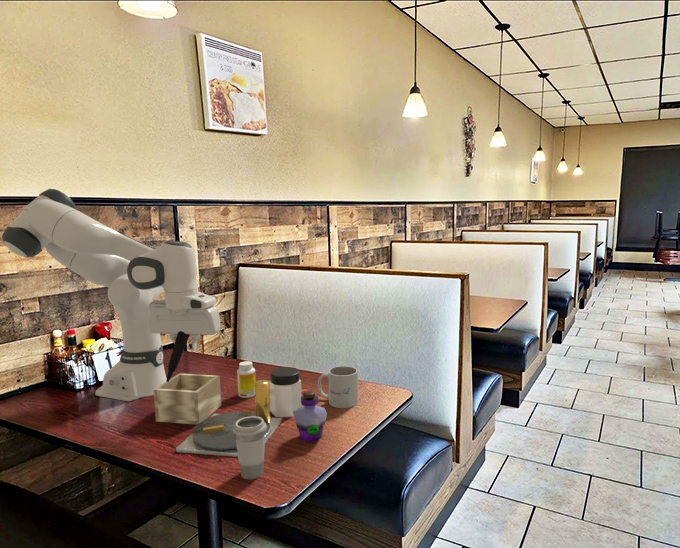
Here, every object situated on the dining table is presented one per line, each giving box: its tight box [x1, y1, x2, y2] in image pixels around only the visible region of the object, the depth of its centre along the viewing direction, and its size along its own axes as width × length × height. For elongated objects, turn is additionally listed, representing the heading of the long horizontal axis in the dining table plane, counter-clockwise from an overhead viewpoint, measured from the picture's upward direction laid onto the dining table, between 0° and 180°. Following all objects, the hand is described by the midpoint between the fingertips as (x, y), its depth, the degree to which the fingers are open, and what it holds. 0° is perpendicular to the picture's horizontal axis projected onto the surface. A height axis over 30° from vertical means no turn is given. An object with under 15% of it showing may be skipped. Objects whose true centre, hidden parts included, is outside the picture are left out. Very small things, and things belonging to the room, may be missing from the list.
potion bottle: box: [293, 390, 328, 443], centre depth 119 cm, size 9×9×12 cm
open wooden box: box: [153, 373, 222, 426], centre depth 136 cm, size 13×13×9 cm
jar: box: [268, 366, 303, 418], centre depth 135 cm, size 9×8×12 cm
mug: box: [317, 365, 359, 409], centre depth 141 cm, size 12×9×10 cm
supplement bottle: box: [236, 360, 257, 399], centre depth 148 cm, size 6×6×10 cm
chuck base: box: [175, 412, 283, 458], centre depth 122 cm, size 20×20×1 cm
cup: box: [233, 416, 267, 480], centre depth 103 cm, size 7×7×12 cm
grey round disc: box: [192, 379, 271, 450], centre depth 121 cm, size 19×19×12 cm
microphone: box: [166, 331, 191, 382], centre depth 131 cm, size 6×6×20 cm
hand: (186, 349), depth 134 cm, fingers closed on microphone, 3 cm apart
